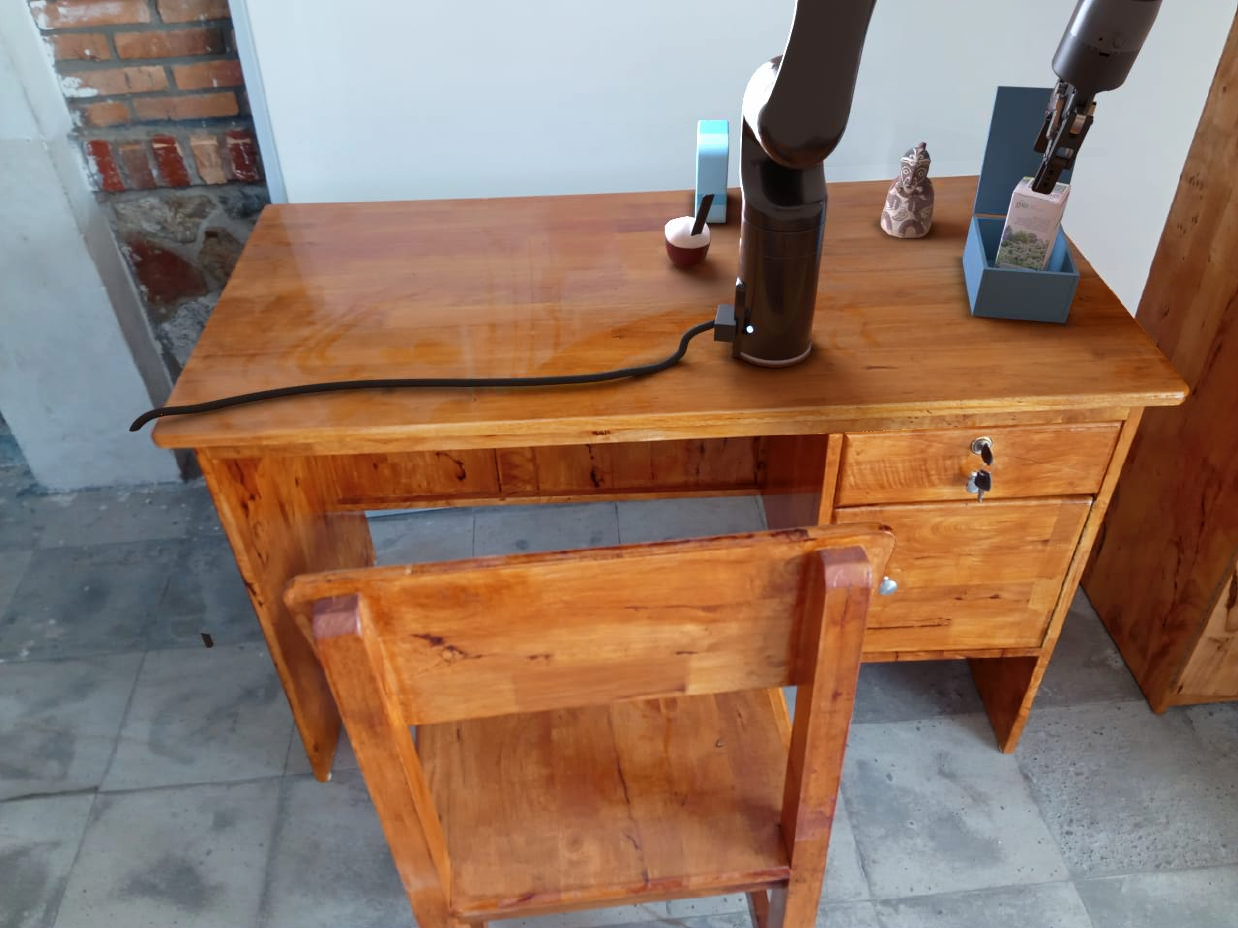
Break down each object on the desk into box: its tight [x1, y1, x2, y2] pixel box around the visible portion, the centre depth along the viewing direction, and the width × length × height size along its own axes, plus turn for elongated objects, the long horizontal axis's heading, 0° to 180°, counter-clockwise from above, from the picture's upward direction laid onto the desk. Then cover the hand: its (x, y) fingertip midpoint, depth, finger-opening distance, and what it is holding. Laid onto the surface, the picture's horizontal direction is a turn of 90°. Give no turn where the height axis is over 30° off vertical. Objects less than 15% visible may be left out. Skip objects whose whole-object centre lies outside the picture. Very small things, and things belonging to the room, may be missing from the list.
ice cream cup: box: [664, 194, 715, 268], centre depth 130 cm, size 10×6×12 cm, turn 2°
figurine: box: [880, 141, 935, 239], centre depth 137 cm, size 7×7×12 cm
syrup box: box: [994, 176, 1072, 271], centre depth 119 cm, size 6×6×14 cm
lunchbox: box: [962, 215, 1081, 324], centre depth 124 cm, size 15×11×7 cm
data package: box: [694, 120, 730, 224], centre depth 143 cm, size 12×4×12 cm, turn 175°
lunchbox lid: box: [972, 85, 1078, 217], centre depth 123 cm, size 16×11×1 cm
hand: (1040, 171), depth 109 cm, fingers open, 8 cm apart
